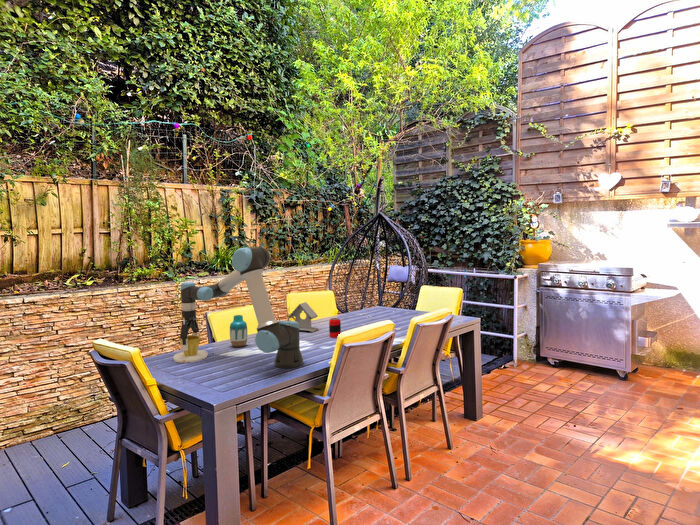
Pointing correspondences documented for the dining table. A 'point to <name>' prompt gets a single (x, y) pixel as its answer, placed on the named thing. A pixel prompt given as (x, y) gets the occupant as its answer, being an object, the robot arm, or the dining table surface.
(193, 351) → the plant pot
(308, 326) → the wooden nesting box
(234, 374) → the dining table surface
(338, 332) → the soda can
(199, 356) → the base
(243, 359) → the dining table surface
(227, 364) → the dining table surface
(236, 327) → the vase
